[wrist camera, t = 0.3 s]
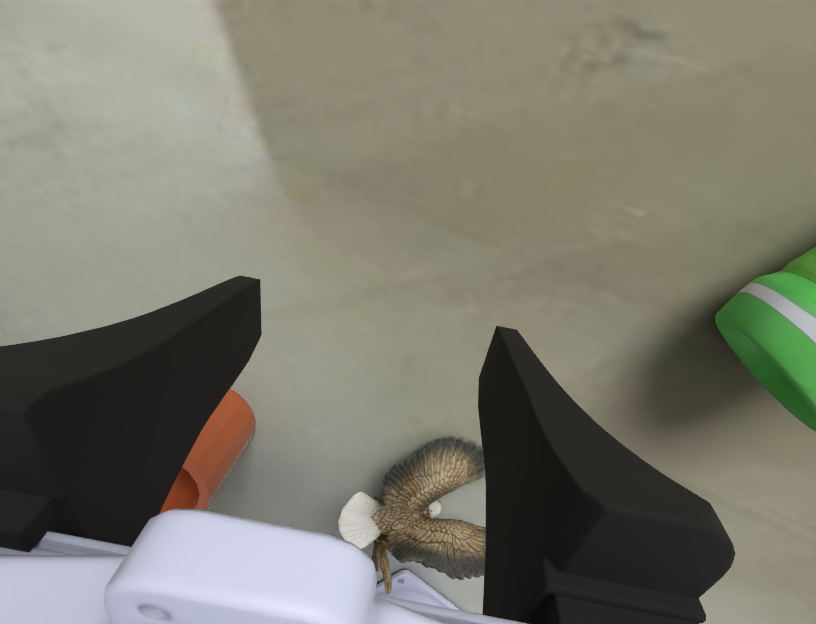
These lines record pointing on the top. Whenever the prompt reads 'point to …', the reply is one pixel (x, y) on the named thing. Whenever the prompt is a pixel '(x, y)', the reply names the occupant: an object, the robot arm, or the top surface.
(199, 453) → the pot
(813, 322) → the speaker
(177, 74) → the top surface
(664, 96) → the top surface
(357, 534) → the eagle figurine
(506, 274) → the top surface
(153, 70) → the top surface
